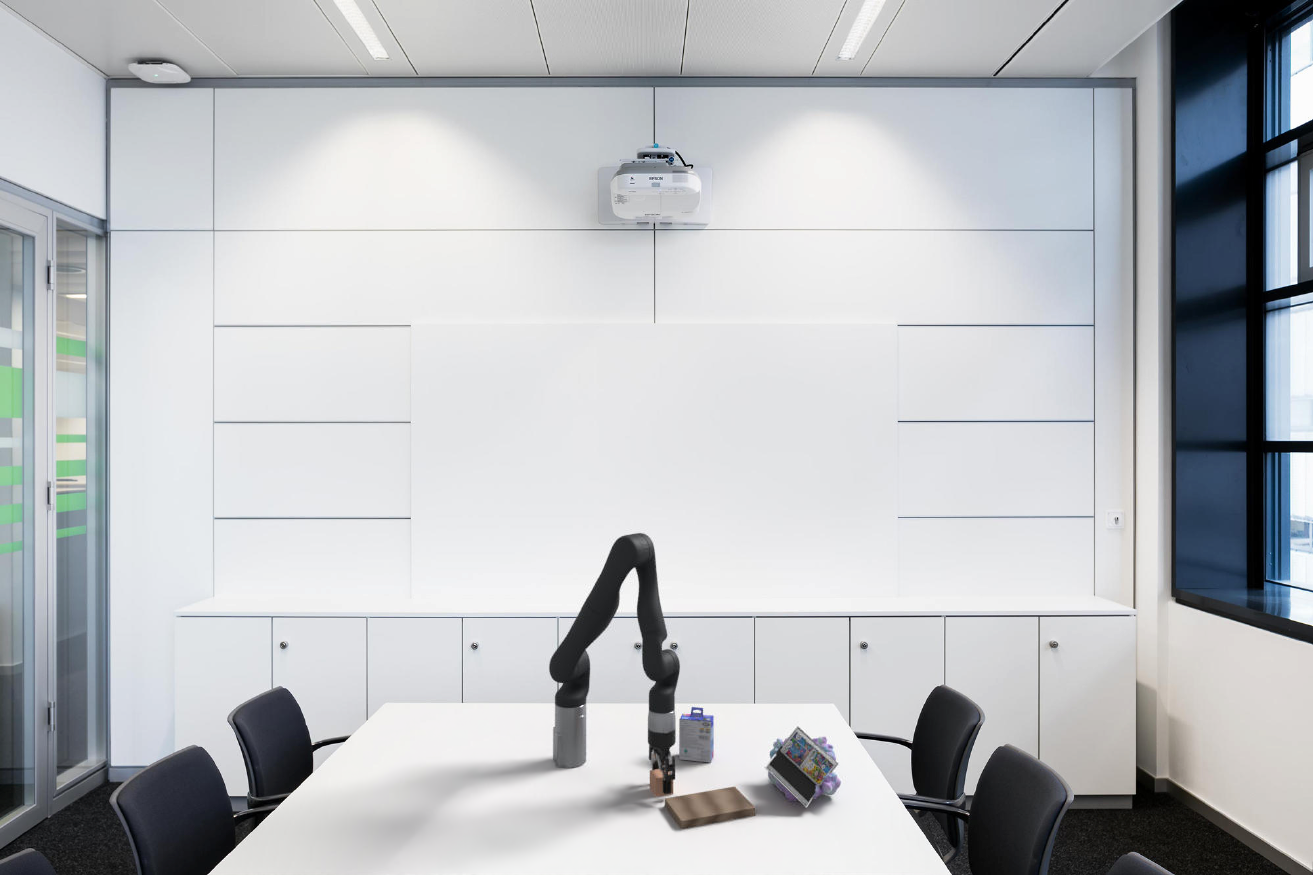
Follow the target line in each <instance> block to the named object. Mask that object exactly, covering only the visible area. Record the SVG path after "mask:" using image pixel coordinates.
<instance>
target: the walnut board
mask: <svg viewBox="0 0 1313 875" xmlns="http://www.w3.org/2000/svg"><path fill="white" fill-rule="evenodd" d="M664 807H665V809H666V810H667V811H668V813H669V814H670V816H671V817H672V818H673V819H674V821H675V822H676V824H677V825H678V826H679V828H680V829H681V830H684V829H691V828H695V827H701V826H706V825H707V826H708V825H711V824H717V823H722V822H727V821H734V820H738V819H745V818H750V817H755V816H756V807H755V806H754V805H753V804H752V803H751V801H749V800H748V799H747V797H746V796H745V795H744V794H743V793H742V792H741V791H740V790H739V789H738V788H737V787H736V786H728V787H723V788H719V789H718V788H717V789H712V790H706V791H700V792H694V793H688V794H684V795H676V796H670V797H667V798H666V797H665V798H664Z"/></svg>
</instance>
